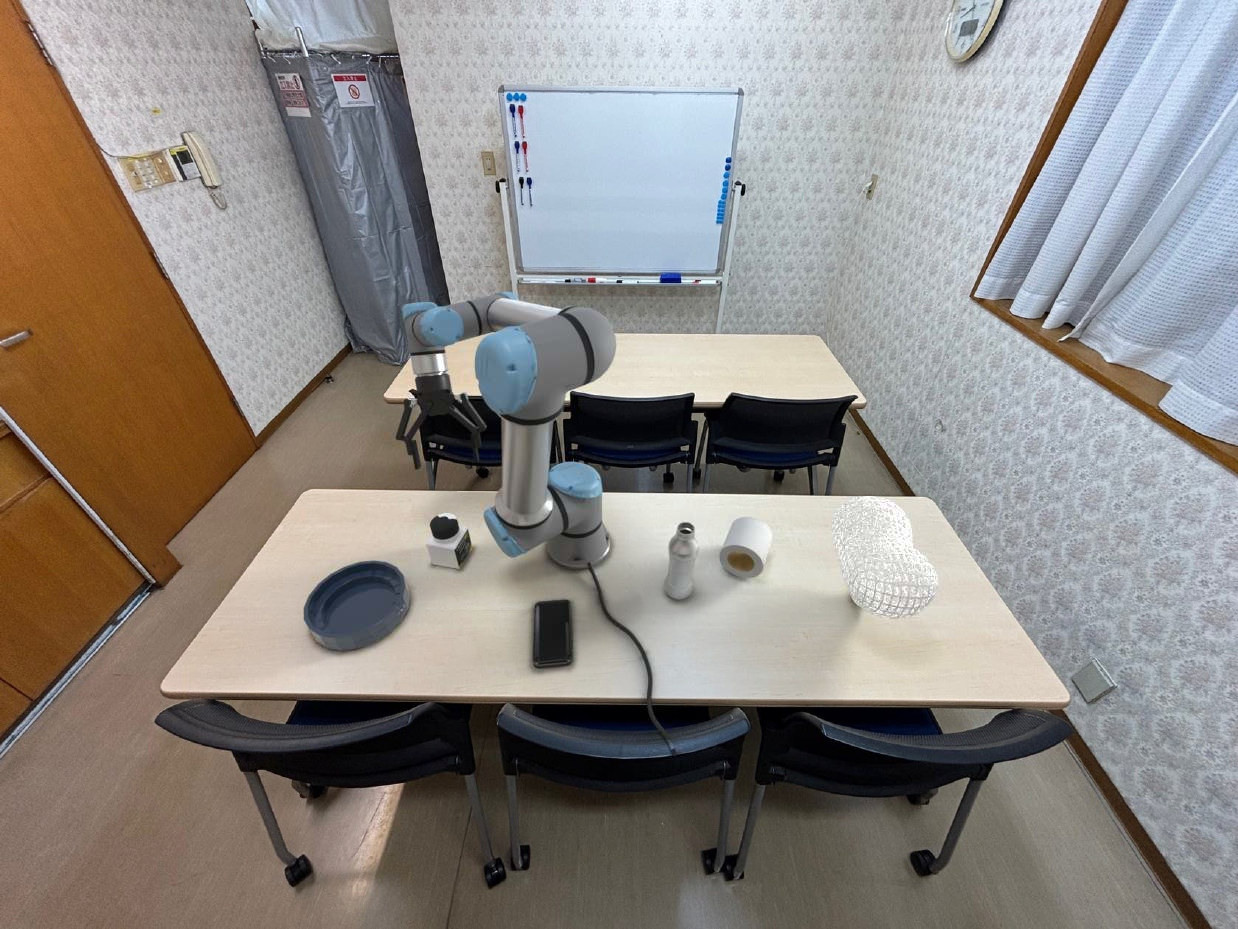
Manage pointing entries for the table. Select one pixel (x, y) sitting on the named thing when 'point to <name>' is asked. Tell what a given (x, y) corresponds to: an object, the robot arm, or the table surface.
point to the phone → (552, 634)
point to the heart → (882, 559)
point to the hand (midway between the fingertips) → (447, 464)
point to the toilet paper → (746, 547)
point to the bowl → (357, 605)
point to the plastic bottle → (681, 562)
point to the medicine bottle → (448, 541)
